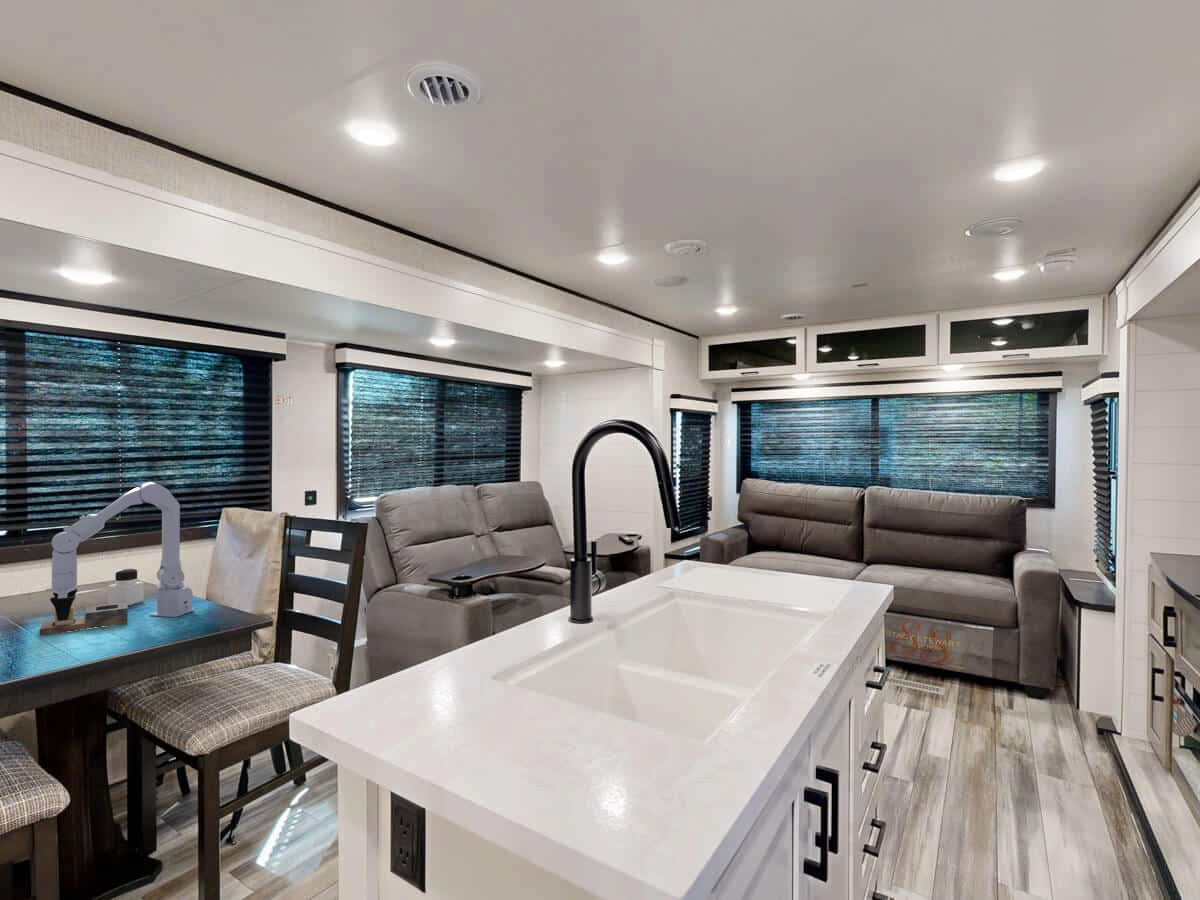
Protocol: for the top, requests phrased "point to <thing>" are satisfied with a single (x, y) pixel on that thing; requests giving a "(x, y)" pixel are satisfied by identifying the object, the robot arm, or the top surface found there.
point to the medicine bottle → (126, 588)
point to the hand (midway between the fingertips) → (63, 617)
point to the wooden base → (91, 619)
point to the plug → (69, 621)
